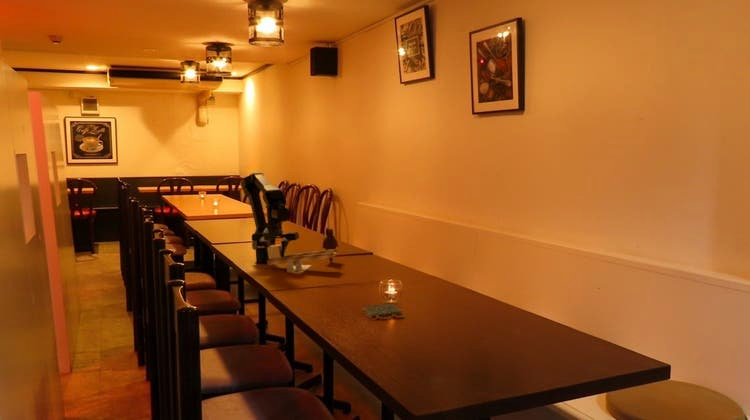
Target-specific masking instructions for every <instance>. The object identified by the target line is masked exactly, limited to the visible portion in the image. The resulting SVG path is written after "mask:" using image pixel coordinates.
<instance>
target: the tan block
mask: <svg viewBox="0 0 750 420" xmlns="http://www.w3.org/2000/svg"><path fill="white" fill-rule="evenodd" d="M267 250H268V256H269V260H270V259H279V258H285V256H284V257H282V243H281V244H275V245H271V246H269V247H267Z"/></svg>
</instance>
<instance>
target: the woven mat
mask: <svg viewBox="0 0 750 420" xmlns="http://www.w3.org/2000/svg"><path fill="white" fill-rule="evenodd" d="M361 311H362V312H363V313H364V314H366V317H368V318H369V319H371V321H372V320H373V321H374V320H375V321H377V320H389V319H392V318H397V319H400V318H405V314H404V313H403V312H404V311H403V310H402V309H401V308H400V307H397V306H396V305H395V304H394V303H390V302H388V303H386V304H385V303H383V304H378V305H375V304H373V305H368V306H365V305H363V309H361Z"/></svg>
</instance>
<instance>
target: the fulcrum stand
mask: <svg viewBox="0 0 750 420" xmlns="http://www.w3.org/2000/svg"><path fill="white" fill-rule="evenodd" d="M312 266H313V265H312V264H302V261H298V262H287V263H286V273H292V274H295V275H297V274H298V275H301V274H302V273H304V272H306V271H307V270H308V269H310V268H311V267H312Z"/></svg>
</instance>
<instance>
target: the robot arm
mask: <svg viewBox="0 0 750 420" xmlns="http://www.w3.org/2000/svg"><path fill="white" fill-rule="evenodd" d="M240 186H241V189H242V191H243V194H244V195H245V196H246V197H247V198H248V200H249V203H250V208H251V212H252V217H253V220H254V225H255V227H256V228H255V231H254V233H252V234H251V242H252V243H251V246H252V248H251V249H253V250H255V260H256V261H255V262H254V264H256V265H257V264H258V265H259V264H260V265H263V264H265V265H268V264H267V260H269V256H268V250H267V247H269V246H271V245H276V239H282V240H281V241H280V243H281V244H282V257H284V255H286V251H287V248H288V246H289V244H290V242H291V241H297V240H299V239H300V233H299V232H298V231H288V232H287V233H284V231H283V227H282V225H283V223H285V222H287V221H289V219H290V218H291V212H290V210H289V208H287V207H286V206H287V198H286V197H285V195H284V192H283V191H282V189H280V188H279V187H278V186H274V185H272V184H271V183H270V181H268V179H267V177H265V175H264V173H263V172H261V171H259V172H252V173H250V174H249V175H247V176H245V177H243V178H242V180H240ZM260 193H262V199H263V202H264V203H265V209H266V216H265V212H264V207H263V204H262V200H261V196H260Z"/></svg>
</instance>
